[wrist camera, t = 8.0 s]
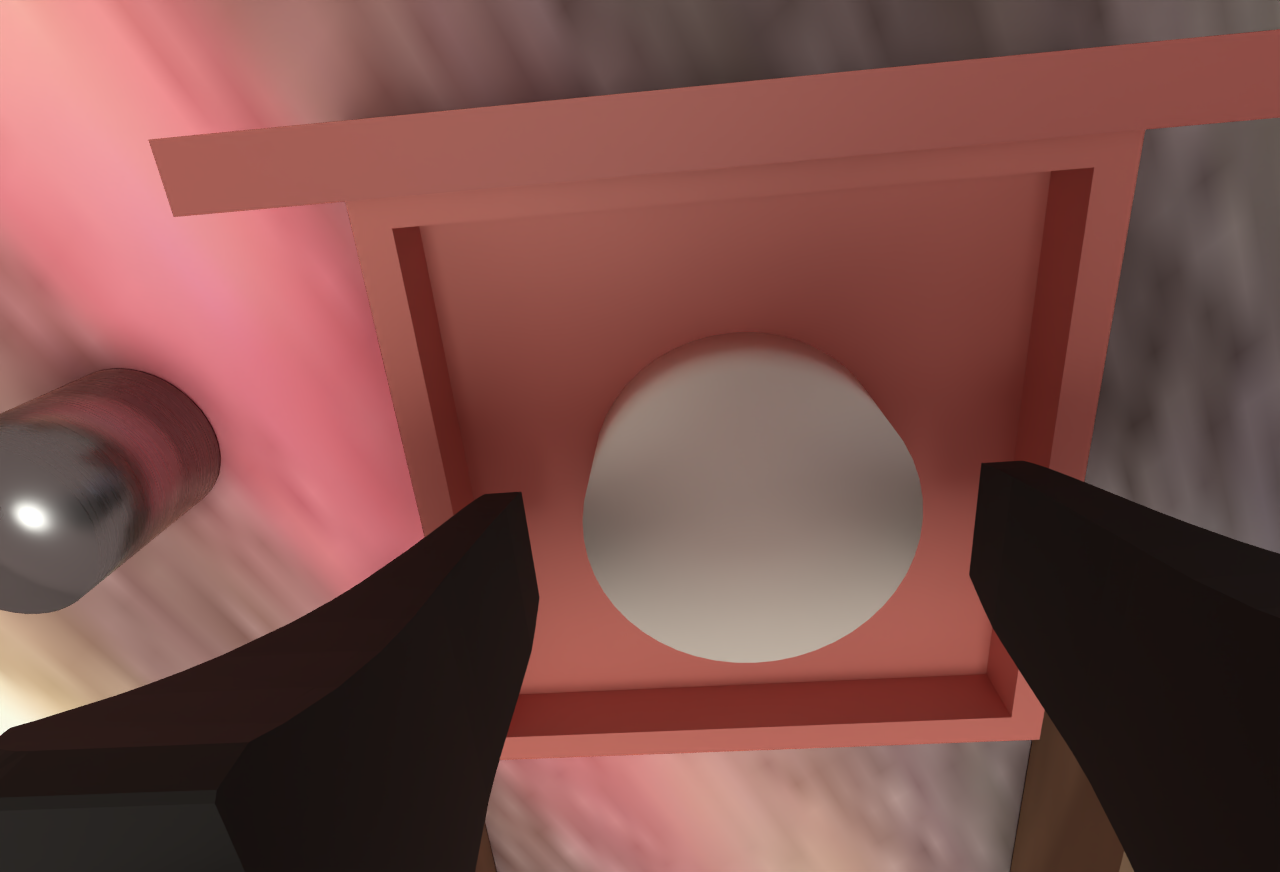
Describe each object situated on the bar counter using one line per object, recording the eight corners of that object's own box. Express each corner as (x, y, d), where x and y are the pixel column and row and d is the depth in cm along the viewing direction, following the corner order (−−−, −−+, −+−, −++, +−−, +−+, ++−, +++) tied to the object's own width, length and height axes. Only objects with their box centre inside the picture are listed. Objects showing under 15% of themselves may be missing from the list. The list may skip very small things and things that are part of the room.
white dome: (882, 586, 14) (914, 655, 12) (610, 601, 15) (602, 670, 13) (893, 318, 12) (933, 353, 10) (577, 344, 13) (561, 382, 11)
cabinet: (1104, 544, 15) (1223, 658, 12) (1030, 931, 20) (1099, 1086, 17) (390, 582, 16) (321, 698, 13) (486, 942, 21) (453, 1091, 18)
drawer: (1133, 55, 11) (1419, 16, 7) (1034, 666, 16) (1170, 868, 12) (333, 132, 12) (148, 139, 8) (464, 692, 17) (395, 888, 13)
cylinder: (190, 362, 14) (49, 434, 11) (240, 506, 15) (126, 608, 12) (35, 374, 14) (-148, 447, 11) (96, 515, 16) (-51, 618, 12)
